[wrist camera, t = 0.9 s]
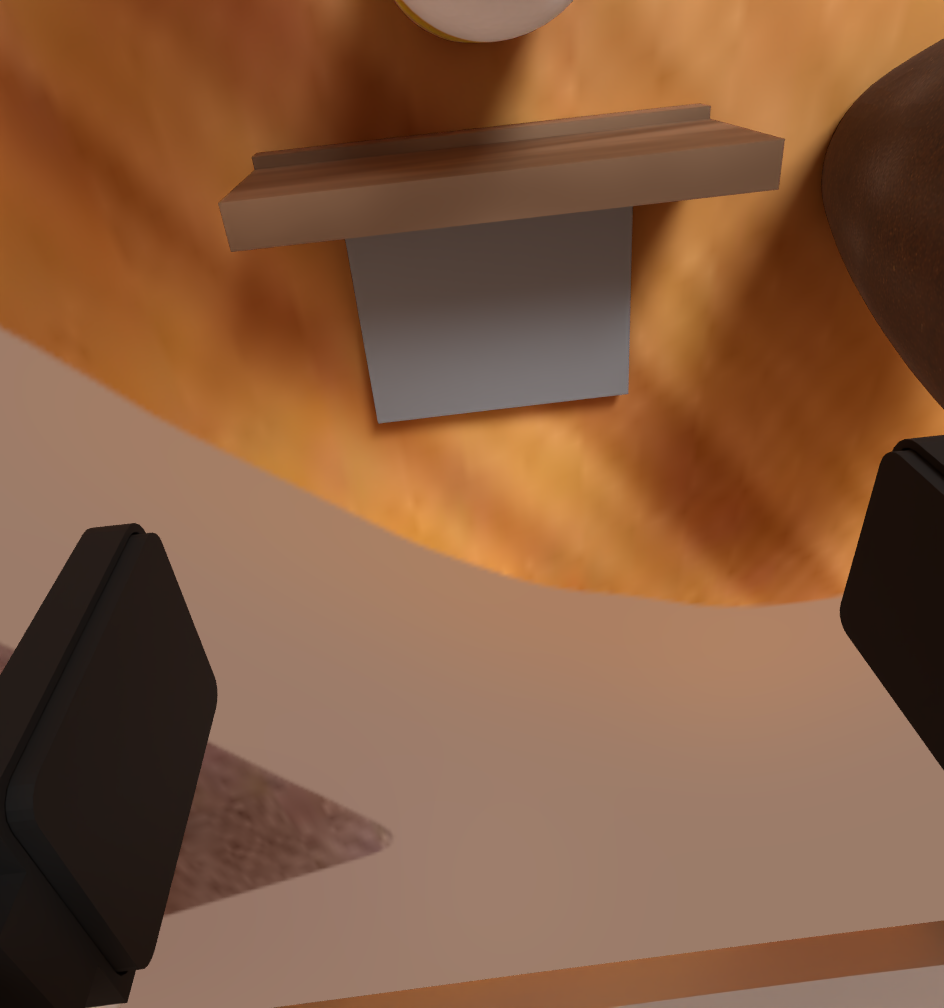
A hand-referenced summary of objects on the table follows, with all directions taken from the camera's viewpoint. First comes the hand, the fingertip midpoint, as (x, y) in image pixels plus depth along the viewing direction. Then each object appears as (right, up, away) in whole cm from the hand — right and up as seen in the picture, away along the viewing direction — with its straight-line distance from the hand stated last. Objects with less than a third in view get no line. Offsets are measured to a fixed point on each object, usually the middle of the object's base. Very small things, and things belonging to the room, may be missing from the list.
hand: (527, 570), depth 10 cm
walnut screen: (0, +15, +21) cm, 25 cm away
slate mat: (0, +10, +24) cm, 26 cm away
